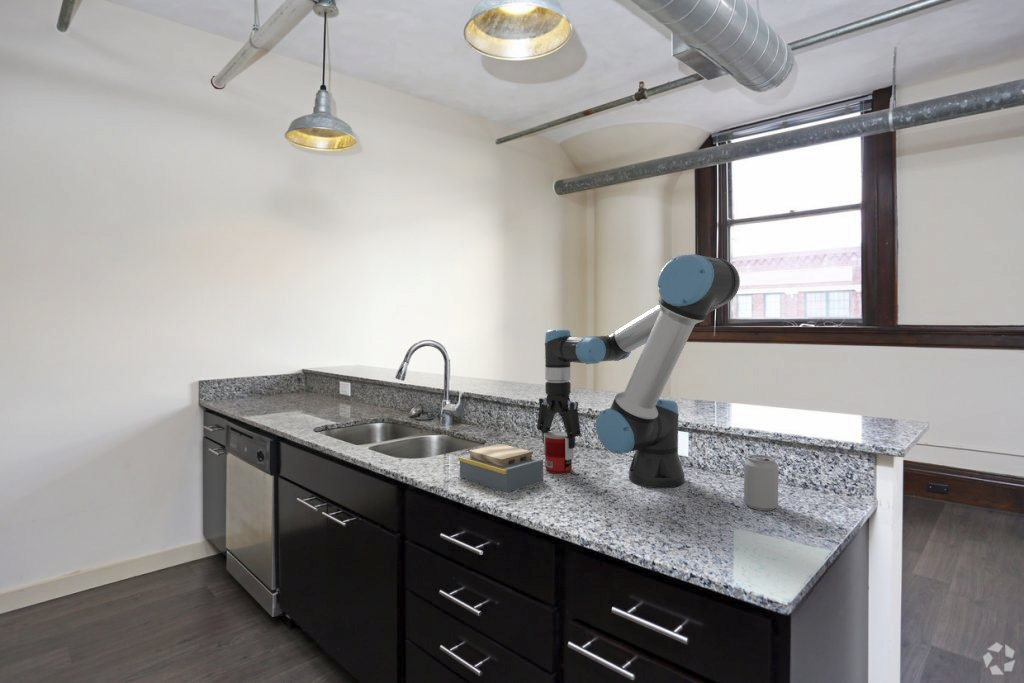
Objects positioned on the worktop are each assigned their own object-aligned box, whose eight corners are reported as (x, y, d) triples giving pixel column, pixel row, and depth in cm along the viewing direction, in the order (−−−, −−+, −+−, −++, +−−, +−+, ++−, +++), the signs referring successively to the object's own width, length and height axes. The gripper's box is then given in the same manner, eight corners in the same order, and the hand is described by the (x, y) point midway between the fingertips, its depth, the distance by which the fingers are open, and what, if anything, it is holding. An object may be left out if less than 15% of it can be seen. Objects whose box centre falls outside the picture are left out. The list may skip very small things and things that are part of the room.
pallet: (532, 458, 151) (532, 451, 151) (501, 466, 143) (501, 459, 143) (499, 450, 161) (499, 443, 161) (468, 457, 153) (468, 450, 153)
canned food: (570, 474, 156) (570, 437, 155) (543, 473, 157) (543, 436, 157) (572, 467, 163) (572, 432, 163) (547, 466, 165) (546, 431, 164)
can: (776, 514, 123) (776, 462, 122) (741, 508, 127) (741, 458, 126) (779, 504, 129) (780, 455, 129) (746, 499, 133) (746, 451, 133)
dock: (543, 480, 150) (543, 459, 150) (505, 492, 140) (504, 470, 140) (495, 467, 164) (495, 448, 164) (458, 477, 154) (458, 456, 154)
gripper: (593, 382, 154) (593, 460, 155) (541, 377, 169) (541, 448, 170) (576, 385, 149) (577, 465, 150) (524, 379, 164) (525, 452, 165)
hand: (558, 456), depth 160 cm, fingers closed on canned food, 8 cm apart
